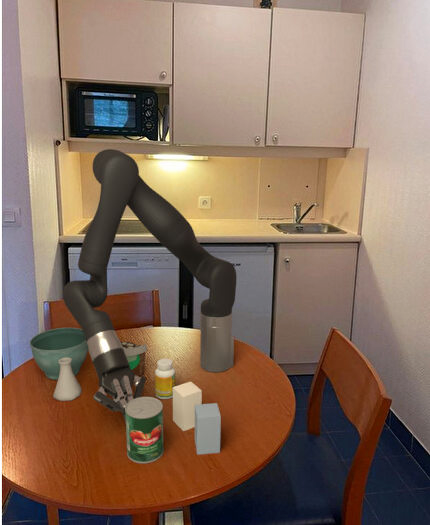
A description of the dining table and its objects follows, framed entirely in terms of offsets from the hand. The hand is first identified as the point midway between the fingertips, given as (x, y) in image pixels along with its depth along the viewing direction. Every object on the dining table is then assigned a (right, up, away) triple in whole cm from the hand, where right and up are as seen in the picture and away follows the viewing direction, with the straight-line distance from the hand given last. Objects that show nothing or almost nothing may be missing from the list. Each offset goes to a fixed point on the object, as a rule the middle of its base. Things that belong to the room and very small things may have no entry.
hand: (133, 424), depth 99 cm
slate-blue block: (+16, -5, 0) cm, 17 cm away
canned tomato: (+3, -5, -2) cm, 6 cm away
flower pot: (-26, +4, +31) cm, 41 cm away
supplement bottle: (+5, 0, +20) cm, 21 cm away
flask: (-21, +1, +20) cm, 29 cm away
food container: (-8, +3, +30) cm, 31 cm away
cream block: (+11, -3, +8) cm, 14 cm away
